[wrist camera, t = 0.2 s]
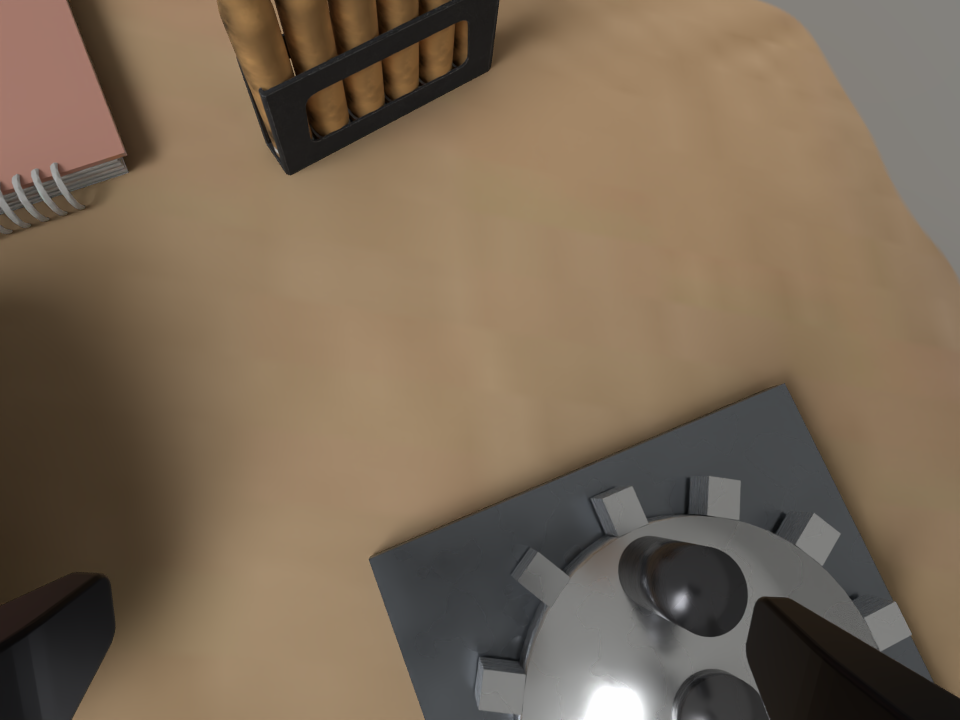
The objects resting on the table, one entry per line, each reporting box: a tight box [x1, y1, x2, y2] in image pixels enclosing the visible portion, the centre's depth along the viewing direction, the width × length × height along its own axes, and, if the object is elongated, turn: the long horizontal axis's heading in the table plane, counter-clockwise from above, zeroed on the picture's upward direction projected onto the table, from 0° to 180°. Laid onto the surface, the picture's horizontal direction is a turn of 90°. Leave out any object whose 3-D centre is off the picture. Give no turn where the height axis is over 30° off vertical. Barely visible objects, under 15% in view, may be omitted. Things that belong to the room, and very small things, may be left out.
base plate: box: [369, 383, 934, 720], centre depth 22 cm, size 18×18×1 cm
